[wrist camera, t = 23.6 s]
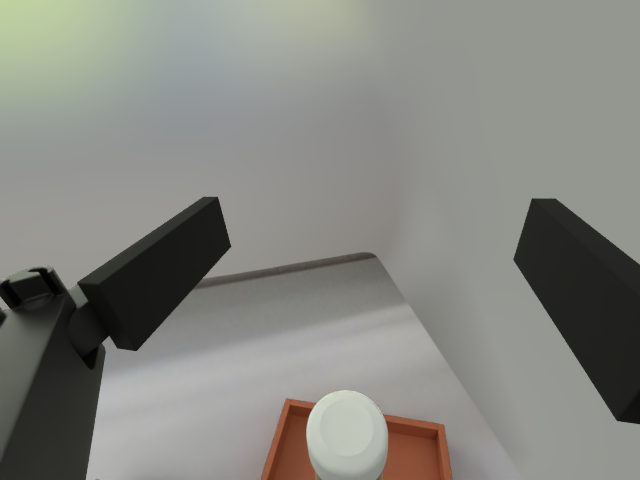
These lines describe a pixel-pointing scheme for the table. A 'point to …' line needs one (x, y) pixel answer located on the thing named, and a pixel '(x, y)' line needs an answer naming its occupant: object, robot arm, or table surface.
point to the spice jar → (347, 437)
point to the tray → (402, 457)
